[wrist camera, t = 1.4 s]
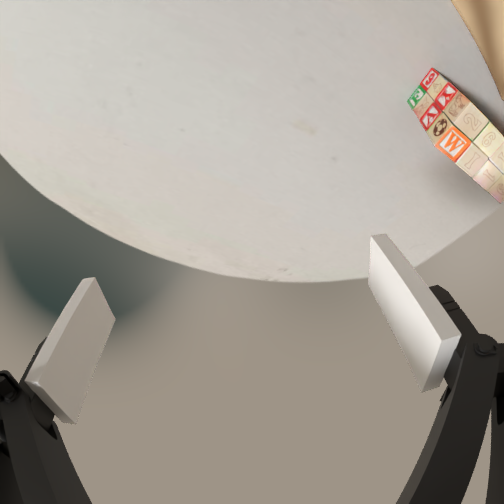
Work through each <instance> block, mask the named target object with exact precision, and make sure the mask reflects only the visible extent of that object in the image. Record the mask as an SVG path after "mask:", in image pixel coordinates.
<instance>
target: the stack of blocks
mask: <svg viewBox="0 0 504 504" xmlns="http://www.w3.org/2000/svg"><path fill="white" fill-rule="evenodd" d="M407 102H408V104H409V105H410V107H411V109H412V110H413V111H414V112H415V114H416V115H417V117H418V119H419V121H420V123H421V124H422V126H423V128H424V129H425V131H426V132H427V134H428V136H429V138H430V139H431V141H432V143H433V145H434V146H435V147H436V148H437V149H438V150H440V151H441V152H442V153H444V154H445V155H446V156H447V157H448V158H450V159H451V160H452V161H454V163H455V164H456V165H457V166H458V167H460V168H461V169H462V170H463V171H465V172H466V173H467V174H468V175H469V176H471V177H472V179H473V180H474V181H475V182H477V183H478V184H479V185H480V186H481V187H482V188H483V189H485V190H486V191H488V193H489V194H491V195H492V196H493V197H494V198H495V199H496V200H497V201H498V202H499V203H502V202H503V201H504V136H503V135H502V133H501V132H500V131H499V130H498V129H497V128H496V127H495V126H494V125H493V124H492V123H491V122H490V121H489V119H488V118H487V117H486V116H485V115H484V114H483V113H482V112H481V111H480V110H479V109H478V108H477V107H476V106H475V105H474V104H473V103H472V102H471V101H470V100H469V99H468V98H467V97H466V96H465V95H463V94H462V93H461V92H460V91H459V90H458V89H457V88H456V87H455V86H454V85H453V84H451V83H450V82H449V81H448V80H447V79H446V78H445V77H443V76H442V75H441V74H440V73H439V72H437V71H436V70H435V69H434V68H431V70H430V71H429V72H428V74H427V75H426V76H425V78H424V79H423V80H422V82H421V83H420V85H419V86H418V88H417V89H416V90H415V92H414V93H413V94H412V96H411V97H410V98H409V99H408V101H407Z"/></svg>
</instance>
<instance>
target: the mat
mask: <svg viewBox="0 0 504 504" xmlns="http://www.w3.org/2000/svg"><path fill="white" fill-rule="evenodd" d="M451 2H452V3H453V5H454V6H455V8H456V9H457V11H458V13H459V14H460V16H461V17H462V19H463V21H464V22H465V24H466V26H467V28H468V29H469V31H470V33H471V35H472V37H473V38H474V40H475V42H476V44H477V46H478V48H479V50H480V52H481V54H482V56H483V58H484V60H485V62H486V64H487V66H488V68H489V70H490V72H491V75H492V77H493V79H494V81H495V84H496V86H497V89H498V91H499V93H500V96H501V98H502V100H503V101H504V0H451Z"/></svg>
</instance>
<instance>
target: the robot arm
mask: <svg viewBox="0 0 504 504" xmlns="http://www.w3.org/2000/svg"><path fill="white" fill-rule="evenodd" d="M368 286H369V287H370V289H371V291H372V293H373V295H374V297H375V299H376V300H377V302H378V304H379V306H380V308H381V310H382V312H383V314H384V316H385V318H386V320H387V322H388V324H389V326H390V328H391V330H392V332H393V333H394V335H395V338H396V339H397V342H398V344H399V346H400V348H401V350H402V352H403V354H404V356H405V358H406V360H407V362H408V364H409V366H410V369H411V371H412V373H413V375H414V377H415V379H416V382H417V384H418V386H419V389H420V391H421V392H425V391H428V390H431V389H434V388H437V387H439V386H440V383H441V382H442V380H443V377H444V378H445V380H446V382H447V384H448V386H447V388H446V390H445V392H444V394H443V396H442V398H441V399H440V401H442V402H441V405H440V407H439V410H438V413H437V416H436V418H435V421H434V424H433V426H432V429H431V431H430V434H429V436H428V439H427V441H426V444H425V446H424V448H423V450H422V453H421V455H420V457H419V460H418V461H417V464H416V466H415V468H414V470H413V472H412V474H411V476H410V478H409V480H408V482H407V484H406V486H405V488H404V490H403V492H402V493H401V495H400V497H399V499H398V501H397V503H396V504H461V502H462V500H463V497H464V495H465V492H466V490H467V487H468V485H469V482H470V479H471V477H472V473H473V471H474V468H475V465H476V462H477V459H478V456H479V452H480V449H481V445H482V442H483V438H484V435H485V431H486V427H487V423H488V419H489V414H490V410H491V415H492V416H491V419H492V420H491V428H492V429H491V431H492V432H491V456H490V470H489V481H488V489H487V498H486V504H504V343H497V341H495V340H494V339H493V338H492V337H490V336H488V335H486V334H479V333H478V332H477V330H476V329H475V327H474V326H473V324H472V323H471V322H470V320H469V319H468V318H467V316H466V315H465V313H464V312H463V311H462V309H460V307H459V305H458V304H457V303H456V302H455V300H454V299H453V298H452V296H451V295H450V294H449V292H448V291H446V290H445V289H443V288H442V287H440V286H439V285H436V286H431V287H428V286H427V285H426V283H425V282H424V281H423V279H422V278H421V277H420V275H419V274H418V273H417V271H416V270H415V269H414V268H413V266H412V265H411V264H410V262H409V261H408V260H407V259H406V257H405V256H404V255H403V254H402V252H401V251H400V250H399V249H398V247H397V246H396V245H395V244H394V243H393V241H392V240H391V239H390V238H389V237H388V235H387V234H379V235H373V236H371V244H370V266H369V283H368ZM114 322H115V318H114V316H113V314H112V312H111V310H110V308H109V306H108V304H107V302H106V300H105V297H104V295H103V293H102V291H101V289H100V287H99V285H98V283H97V281H96V278H95V277H93V278H86V279H83V280H82V281H81V283H80V284H79V286H78V287H77V289H76V290H75V292H74V294H73V295H72V297H71V298H70V300H69V302H68V303H67V305H66V306H65V308H64V310H63V312H62V313H61V315H60V316H59V318H58V320H57V322H56V323H55V325H54V327H53V328H52V330H51V332H50V334H49V335H48V337H46V338H45V339H44V340H43V341H42V342H41V343H40V344H39V346H38V348H37V350H36V352H35V355H33V357H32V360H31V361H30V363H29V365H28V367H27V369H26V371H25V373H24V374H23V376H22V378H21V380H20V382H19V383H18V382H17V381H16V380H15V379H14V377H13V376H12V375H11V374H10V372H8V371H6V370H3V371H0V504H92V503H91V501H90V499H89V497H88V495H87V493H86V491H85V489H84V487H83V485H82V483H81V481H80V479H79V477H78V475H77V473H76V471H75V468H74V466H73V464H72V462H71V460H70V458H69V455H68V453H67V450H66V448H65V445H64V443H63V440H62V438H61V435H60V432H59V430H58V427H57V425H56V423H55V422H54V421H53V418H54V415H56V416H57V417H58V418H59V419H60V420H61V421H62V422H63V423H70V424H76V423H77V420H78V417H79V414H80V411H81V408H82V405H83V402H84V399H85V397H86V394H87V391H88V388H89V385H90V383H91V380H92V377H93V374H94V372H95V369H96V367H97V364H98V361H99V359H100V356H101V354H102V351H103V349H104V346H105V344H106V341H107V339H108V336H109V334H110V331H111V329H112V327H113V324H114Z"/></svg>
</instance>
